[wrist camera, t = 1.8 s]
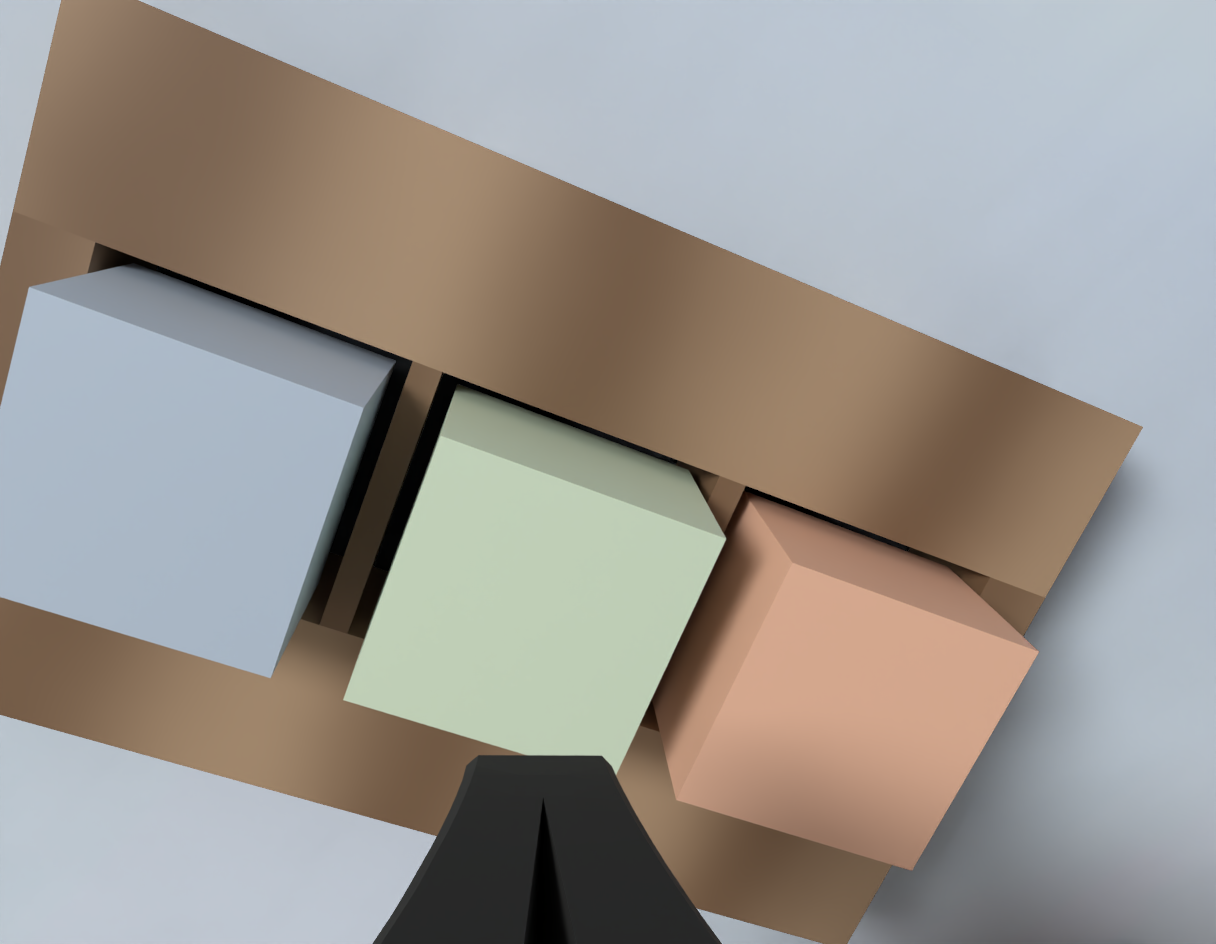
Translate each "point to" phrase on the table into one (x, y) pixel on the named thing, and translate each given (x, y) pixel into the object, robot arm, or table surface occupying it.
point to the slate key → (176, 462)
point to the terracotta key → (833, 685)
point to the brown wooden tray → (515, 367)
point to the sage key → (536, 585)
